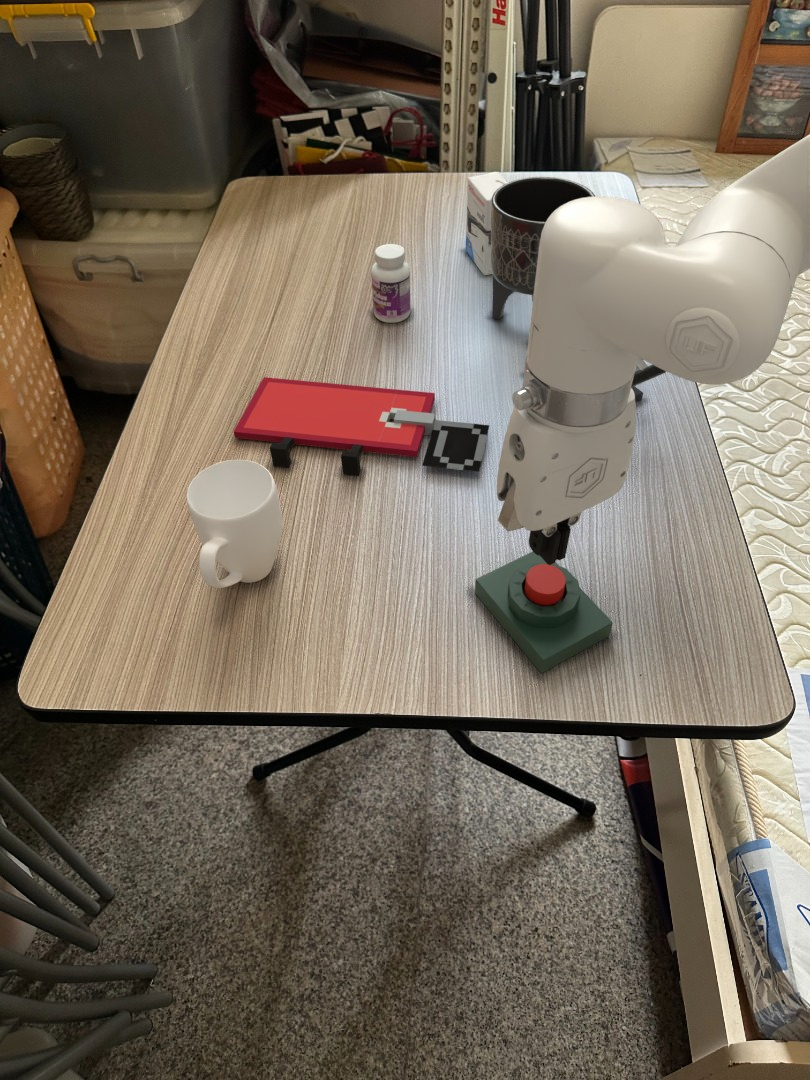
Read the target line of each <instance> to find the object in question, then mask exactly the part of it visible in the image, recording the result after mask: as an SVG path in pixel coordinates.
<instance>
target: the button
mask: <svg viewBox="0 0 810 1080" xmlns="http://www.w3.org/2000/svg"><path fill="white" fill-rule="evenodd" d="M565 583H566V579H565V576H564V574H563V572H562V571H561V570H560V569H558V568H557V567H555V566H552V565H548V564H541V565H537V566H534V567H532V568H531V569H530V570H529V571H528V573H527V576H526V583H525V593H526V595H527V597H528V598H529V599H530V600H531V601H532V602H534V603H536V604H538V605H542V606H549V605H553V604H556V603H557V602H559V601H560V600H561V599H562V597H563V594H564V588H565Z"/></svg>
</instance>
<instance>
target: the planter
mask: <svg viewBox="0 0 810 1080" xmlns="http://www.w3.org/2000/svg"><path fill="white" fill-rule="evenodd" d="M595 196H596V194H595V193H594V192H593V191H592V190H591V189H589V188H588V187H587V186H585V185H583V184H581V183H579V182H576V181H572V180H570V179H565V178H560V177H554V176H553V177H552V176H532V177H531V176H530V177H525V178H519V179H515V180H512V181H509V182H508V183H506V184H504V185H503V186H501V187H500V188H498V189H497V190H496V191H495V192H494V194H493V196H492V200H491V269H492V273H493V274H492V301H491V302H492V305H491V307H492V310H491V312H492V313H491V318H493V319H496V320H501V319H502V317H503V316H504V312H505V308H506V304H507V301H508V299H509V297H510V296H511V295H512V294H514V293H515V292H516V293H518V294H522V295H529V296H531V299H532V302H533V295H534V287H535V278H536V270H537V261H538V253H539V245H540V239H541V233H542V230H543V228H544V225H545V223H546V221H547V219H548V218H549V216H550V215H551V214H552V213H553V212H554V211H555V210H556V209H557V208H559V207H560V206H562V205H564V204H566V203H568V202H570V201H573V200H575V199H579V198H585V197H595Z"/></svg>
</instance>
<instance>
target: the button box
mask: <svg viewBox="0 0 810 1080" xmlns="http://www.w3.org/2000/svg"><path fill="white" fill-rule="evenodd" d="M541 564H547V563H546V562H545V561H544V560H543V559H542V558H541V556H540V555H536V554H535V553H534V552H533V551H531V552H528V553H526V554H524V555H522V556H521V557H518V558H516V559H514V560H512V561H509V562H508V563H506V564H504V565H502V566H499V567H498V568H496V569H493V570H492V571H489V572H487V573H486V574H484V575H481V576H480V577H477V578H476V579H475V581H474V582H475V585H474V594H475V595H476V596H477V597H478V599H479V600H480V601H481V602H482V604H483V605H484V606H485V607H486V608H487V610H488V611H489V612H490V613H491V614H492V616H493V617H494V618H495V619H496V620H497V622H498V623H499V624H500V625H501V627H502V628H503V629H504V630H505V632H506V633H507V634H508V635H509V636H510V637H511V639H512V640H513V641H514V643H516V645H517V646H518V647H519V649H521V651H522V652H523V653H524V655H525V657H527V658H528V659H529V661H530V663H532V664H533V666H534V667H535V668H536V669H537V671H539V673H540V674H543V673H545V672H547V671H548V670H550V669H552V668H554V667H556V666H557V665H559V664H561V663H563V662H565V661H566V660H568V659H570V658H572V657H574V656H575V655H578V654H579V653H581V652H583V651H585V650H587V649H588V648H590V647H592V646H594V645H595V644H597V643H599V642H602V641H603V640H605V639H606V638H608V637H610V635H611V631H612V627H613V624H614V622H613V621H612V620H611V619H610V617H608V616H607V615H606V613H605V612H604V611H603V610H602V609H601V608H600V607H599V606H598V605H597V604H596V603H595V602H594V601H593V600H592V599H591V598H590V596H589V595H588V594H587V593H586V592H585V591H583V589H582V588H581V587H580V584H579V581H578V579H577V578H576V577H575V576H574V575H573V574H572V573H571V572H570V571H569V570H568V569H567V568H566V567H563V566H561V565H559V564H558V563H557V562H556V561H555V563H553V564H551V565H552V566H555V567H557V568H558V569H560V570H561V571H562V572H563V574H564V576H565V579H566V583H565V588H564V594H563V597H562V599H561V600H560V601H559V602H557V603H556V604H553V605H549V606H542V605H538V604H536V603H534V602H532V601H531V600H530V599H529V598H528V597H527V595H526V593H525V583H526V576H527V573H528V571H529V570H530V569H531V568H532V567H534V566H537V565H541Z"/></svg>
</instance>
